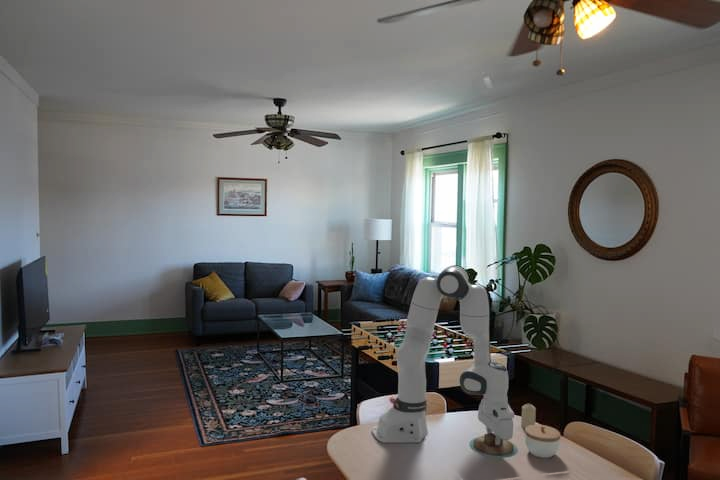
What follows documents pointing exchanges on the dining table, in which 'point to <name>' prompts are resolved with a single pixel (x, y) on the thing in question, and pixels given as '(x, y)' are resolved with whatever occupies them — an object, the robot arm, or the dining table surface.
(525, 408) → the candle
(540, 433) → the lidded bowl
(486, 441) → the lid
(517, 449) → the mat
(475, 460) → the dining table surface
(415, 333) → the robot arm
